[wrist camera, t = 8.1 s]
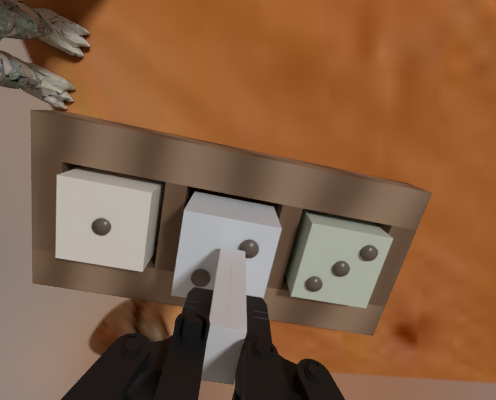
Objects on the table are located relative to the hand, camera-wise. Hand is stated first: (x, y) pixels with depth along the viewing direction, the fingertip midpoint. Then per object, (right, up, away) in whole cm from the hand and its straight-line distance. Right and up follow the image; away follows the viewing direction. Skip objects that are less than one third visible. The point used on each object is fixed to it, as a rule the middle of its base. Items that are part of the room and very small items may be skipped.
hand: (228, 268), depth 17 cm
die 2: (0, +2, +5) cm, 5 cm away
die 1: (-9, +4, +6) cm, 11 cm away
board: (0, +2, +7) cm, 7 cm away
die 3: (+8, +1, +7) cm, 11 cm away
